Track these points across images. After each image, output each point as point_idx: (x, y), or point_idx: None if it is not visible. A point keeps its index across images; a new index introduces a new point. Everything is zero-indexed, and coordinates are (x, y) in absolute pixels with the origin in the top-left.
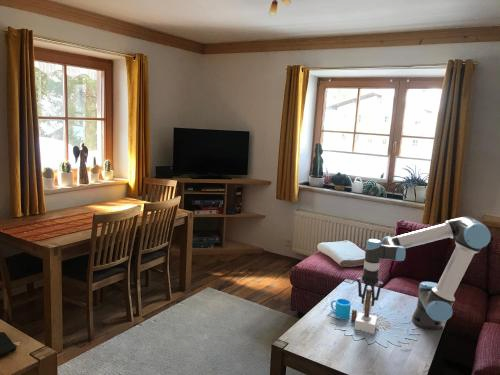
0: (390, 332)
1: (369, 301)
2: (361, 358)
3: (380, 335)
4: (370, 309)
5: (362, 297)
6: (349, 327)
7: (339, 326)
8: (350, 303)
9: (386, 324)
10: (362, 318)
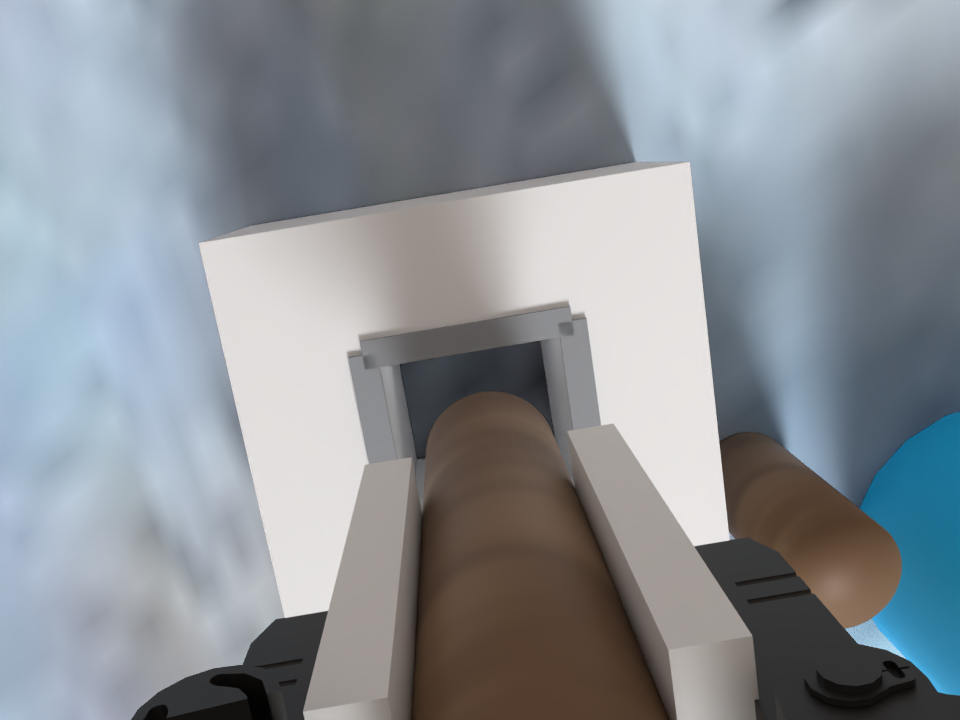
0: (12, 480)
1: (439, 678)
2: None
3: (125, 246)
4: (369, 498)
5: (888, 674)
6: (743, 164)
7: (932, 73)
8: None
9: None
10: (564, 373)
